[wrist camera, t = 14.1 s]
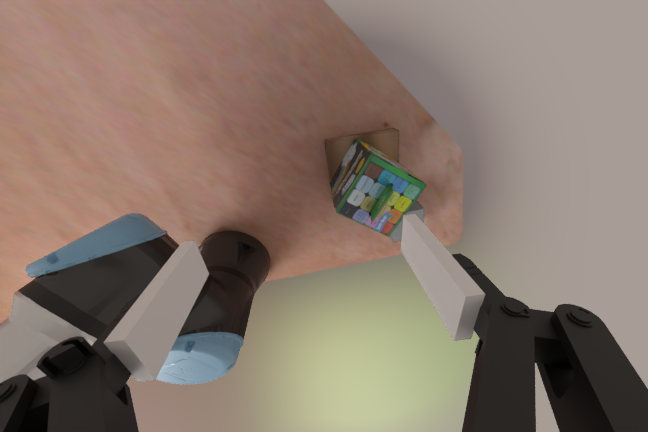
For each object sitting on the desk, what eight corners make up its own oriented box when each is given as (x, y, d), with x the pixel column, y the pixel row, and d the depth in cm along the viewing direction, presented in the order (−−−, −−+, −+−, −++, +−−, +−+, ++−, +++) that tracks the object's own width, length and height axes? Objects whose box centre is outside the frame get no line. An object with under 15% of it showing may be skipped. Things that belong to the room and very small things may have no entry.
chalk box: (370, 204, 45) (396, 253, 32) (327, 183, 42) (337, 227, 29) (400, 161, 41) (443, 196, 28) (355, 135, 38) (380, 160, 25)
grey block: (385, 228, 51) (393, 242, 46) (383, 203, 48) (390, 215, 43) (413, 222, 50) (423, 235, 46) (413, 197, 47) (423, 208, 43)
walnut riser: (333, 202, 47) (334, 207, 44) (324, 139, 41) (325, 142, 39) (394, 192, 46) (398, 197, 44) (393, 128, 41) (398, 130, 38)
